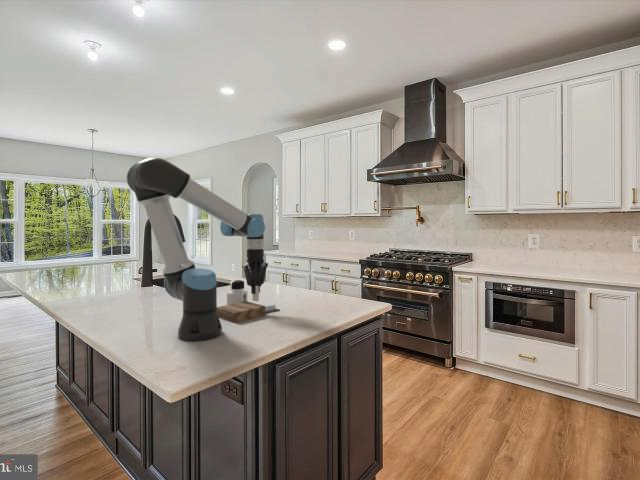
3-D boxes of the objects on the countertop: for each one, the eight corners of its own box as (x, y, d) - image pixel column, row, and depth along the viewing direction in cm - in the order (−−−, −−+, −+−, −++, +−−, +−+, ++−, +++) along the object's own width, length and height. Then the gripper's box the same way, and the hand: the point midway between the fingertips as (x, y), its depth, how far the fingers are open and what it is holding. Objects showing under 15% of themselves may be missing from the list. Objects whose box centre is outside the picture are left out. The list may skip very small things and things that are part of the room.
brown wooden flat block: (234, 322, 146) (234, 313, 146) (215, 316, 156) (215, 307, 156) (265, 315, 158) (265, 306, 158) (246, 309, 168) (246, 301, 167)
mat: (262, 314, 159) (262, 313, 159) (249, 310, 166) (249, 309, 166) (279, 310, 167) (279, 309, 167) (266, 306, 173) (266, 306, 173)
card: (260, 312, 161) (259, 308, 161) (251, 310, 165) (251, 306, 165) (275, 309, 167) (275, 304, 167) (267, 306, 172) (267, 302, 171)
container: (247, 306, 175) (247, 279, 174) (242, 310, 167) (242, 282, 167) (232, 305, 176) (232, 279, 175) (226, 309, 168) (226, 281, 167)
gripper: (248, 249, 154) (248, 304, 155) (271, 248, 163) (272, 299, 165) (238, 248, 159) (238, 301, 160) (261, 247, 169) (262, 297, 170)
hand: (255, 300), depth 162 cm, fingers closed
